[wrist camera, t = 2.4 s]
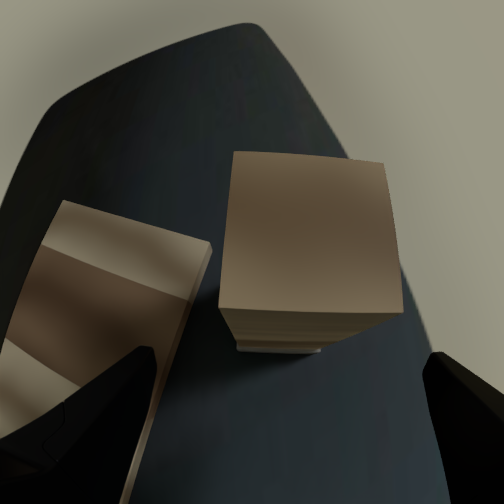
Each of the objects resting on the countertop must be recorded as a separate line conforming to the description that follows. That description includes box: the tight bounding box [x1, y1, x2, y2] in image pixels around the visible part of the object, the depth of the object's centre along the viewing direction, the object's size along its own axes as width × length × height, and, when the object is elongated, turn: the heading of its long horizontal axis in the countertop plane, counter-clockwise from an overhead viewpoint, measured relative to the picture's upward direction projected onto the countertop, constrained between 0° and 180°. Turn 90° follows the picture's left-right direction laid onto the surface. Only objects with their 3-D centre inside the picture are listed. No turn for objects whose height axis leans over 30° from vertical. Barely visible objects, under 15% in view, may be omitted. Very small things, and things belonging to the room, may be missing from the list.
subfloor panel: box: [0, 200, 212, 504], centre depth 18 cm, size 22×13×2 cm, turn 163°
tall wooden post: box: [218, 151, 403, 354], centre depth 14 cm, size 5×5×13 cm
